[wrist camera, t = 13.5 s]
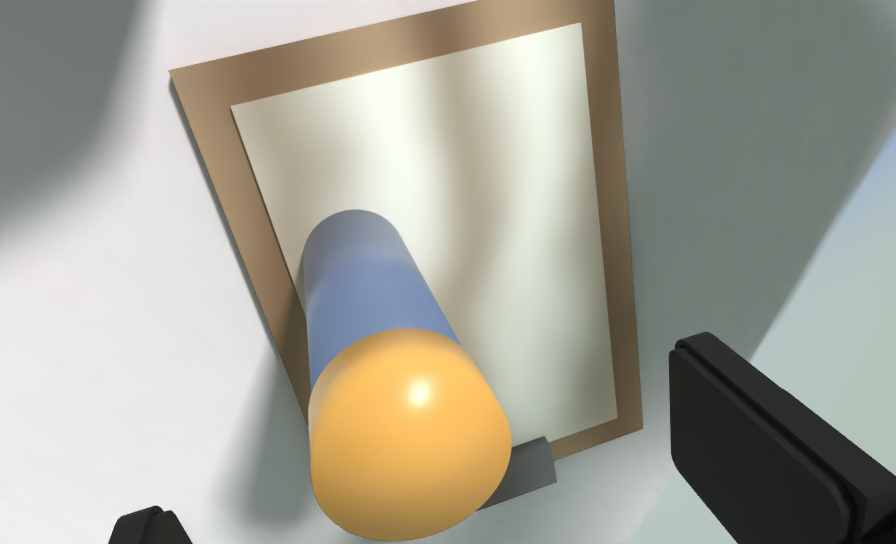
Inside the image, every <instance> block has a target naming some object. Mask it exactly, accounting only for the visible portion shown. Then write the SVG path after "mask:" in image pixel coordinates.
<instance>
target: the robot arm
mask: <svg viewBox="0 0 896 544" xmlns="http://www.w3.org/2000/svg"><path fill="white" fill-rule="evenodd" d="M669 387H670V429H671V455H672V459H673V462H674V464H675V466H676V468H677V470H678V471H679V473H680V474H681V475H682V476H683V477H684V479H685V480H686V481H687V482H688V484H689V485H690V486H691V487H692V488H693V490H694V491H695V492H696V493H697V495H698V496H699V497H700V498H701V499H702V501H703V502H704V503H705V504H706V506H707V507H708V508H709V509H710V510H711V512H712V513H713V514H714V515H715V516H716V518H717V519H718V520H719V521H720V523H721V524H722V525H723V526H724V527H725V529H726V530H727V531H728V532H729V534H730V535H731V536H732V537H733V538H734V540H735V541H736V542H737V543H738V544H896V476H895V475H893V474H892V473H891V472H889V471H888V470H887V469H886V468H885V467H883V466H882V465H881V464H880V463H878V462H877V461H876V460H874V459H873V458H872V457H871V456H869V455H868V454H867V453H865V452H864V451H863V450H861V449H860V448H859V447H858V446H856V445H855V444H854V443H852V442H851V441H850V440H848V439H847V438H846V437H845V436H844V435H842V434H841V433H839V432H838V431H837V430H836V429H834V428H833V427H832V426H831V425H829V424H828V423H827V422H826V421H824V420H823V419H822V418H821V417H819V416H818V415H817V414H815V413H814V412H813V411H812V410H810V409H809V408H807V407H806V406H805V405H804V404H803V403H801V402H800V401H799V400H797V399H796V398H795V397H794V396H792V395H791V394H790V393H788V392H787V391H785V390H784V389H782V388H780V387H779V386H778V385H777V384H775V383H774V382H773V381H771V380H770V379H769V378H768V377H766V376H765V375H764V374H762V373H761V372H760V371H759V370H757V369H756V368H755V367H754V366H752V365H751V364H750V363H749V362H747V361H746V360H745V359H743V358H742V357H741V356H740V355H738V354H737V353H736V352H734V351H733V350H732V349H731V348H729V347H728V346H727V345H726V344H724V343H723V342H722V341H720V340H719V339H718V338H717V337H715V336H714V335H713V334H711V333H709V332H703V333H700V334H697V335H693V336H690V337H687V338H684V339H681V340H678V341H677V342H676V344H675V350H672V351H670V353H669ZM108 544H193V543H192V542H191V540H190V538H189V537H188V535H187V533H186V532H185V530H184V528H183V527H182V525H181V523H180V522H179V520H178V518H177V516H176V515H175V514H174V512H173V511H171V510H169V511H165V512H164V511H163V510H162V509H161V507H159V506H152V507H149V508H146V509H143V510H140V511H136V512H133V513H130V514H127V515H124V516H121V517H120V518H119V519H118V520H117V522H116V524H115V526H114V529H113V532H112V535H111V537H110V540H109V543H108Z"/></svg>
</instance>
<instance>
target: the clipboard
mask: <svg viewBox="0 0 896 544" xmlns="http://www.w3.org/2000/svg"><path fill="white" fill-rule="evenodd" d="M169 73H170V75H171V78H172V80H173V83H174V86H175V88H176V91H177V93H178V96H179V98H180V101H181V103H182V106H183V108H184V111H185V114H186V116H187V119H188V121H189V124H190V126H191V129H192V131H193V134H194V136H195V139H196V142H197V144H198V147H199V149H200V152H201V154H202V157H203V159H204V162H205V164H206V167H207V170H208V172H209V175H210V177H211V180H212V182H213V185H214V187H215V190H216V193H217V195H218V198H219V200H220V203H221V205H222V208H223V210H224V213H225V215H226V218H227V221H228V223H229V226H230V228H231V231H232V233H233V236H234V238H235V241H236V243H237V246H238V249H239V251H240V254H241V256H242V259H243V261H244V264H245V266H246V269H247V271H248V274H249V277H250V279H251V282H252V284H253V287H254V289H255V292H256V294H257V297H258V299H259V302H260V305H261V307H262V310H263V312H264V315H265V317H266V320H267V322H268V325H269V327H270V330H271V333H272V335H273V338H274V340H275V343H276V345H277V348H278V350H279V353H280V355H281V358H282V361H283V363H284V366H285V368H286V371H287V373H288V376H289V378H290V381H291V383H292V386H293V389H294V391H295V394H296V396H297V399H298V401H299V404H300V406H301V409H302V411H303V414H304V417H305V419H306V422H307V424H308V427H309V423H308V408H309V401H310V396H311V382H310V366H309V351H308V335H307V319H306V304H305V288H304V273H303V251H304V246H305V243H306V241H307V239H308V236H309V235H310V233H311V232H312V230H313V229H314V228H315V227H316V226H317V225H318V224H319V223H320V222H321V221H322V220H324V219H325V218H327V217H328V216H331V215H333V214H335V213H338V212H341V211H345V210H353V209H357V210H366V211H370V212H373V213H376V214H378V215H380V216H382V217H384V218H385V219H387V220H388V221H389V222H390V223H391V224H392V225H393V226H394V227H395V228H396V230H397V231H398V232H399V234H400V236H401V238H402V240H403V241H404V243H405V245H406V247H407V249H408V250H409V252H410V254H411V256H412V258H413V259H414V261H415V263H416V265H417V267H418V268H419V270H420V272H421V274H422V276H423V277H424V279H425V281H426V283H427V285H428V286H429V288H430V290H431V292H432V294H433V295H434V297H435V299H436V301H437V303H438V304H439V306H440V308H441V310H442V312H443V314H444V315H445V317H446V319H447V321H448V323H449V324H450V326H451V328H452V330H453V332H454V333H455V335H456V337H457V339H458V341H459V342H460V344H461V346H462V347H463V348H464V349H465V350H466V351H467V352H468V353H469V354H470V355H471V357H472V358H473V360H474V361H475V363H476V364H477V366H478V368H479V370H480V371H481V373H482V375H483V377H484V378H485V380H486V382H487V384H488V385H489V387H490V389H491V391H492V393H493V394H494V396H495V398H496V400H497V401H498V403H499V405H500V407H501V408H502V410H503V412H504V414H505V416H506V418H507V420H508V423H509V427H510V430H511V439H512V445H511V455H510V460H509V463H508V466H507V469H506V472H505V474H504V476H503V478H502V480H501V482H500V484H499V485H498V487H497V488H496V490H495V491H494V492H493V494H492V495H491V496H490V497H489V499H488V500H487V501H486V502H485V503H484V504H483V505H482V506H481V507H480V508H479V509H477V510H476V511H479V510H481V509H484V508H487V507H490V506H492V505H495V504H498V503H501V502H503V501H506V500H509V499H512V498H514V497H517V496H520V495H523V494H525V493H528V492H531V491H534V490H536V489H539V488H542V487H544V486H547V485H550V484H553V483H555V482H557V481H556V475H555V468H554V462H553V461H554V460H557V459H560V458H563V457H565V456H568V455H571V454H574V453H577V452H579V451H582V450H585V449H588V448H591V447H593V446H596V445H599V444H602V443H605V442H607V441H610V440H613V439H616V438H619V437H621V436H624V435H627V434H630V433H633V432H635V431H638V430H641V429H643V419H642V405H641V390H640V375H639V361H638V346H637V332H636V317H635V302H634V288H633V273H632V259H631V244H630V229H629V215H628V200H627V186H626V171H625V156H624V142H623V127H622V113H621V98H620V83H619V69H618V54H617V40H616V25H615V10H614V0H478V1H473V2H469V3H464V4H460V5H456V6H451V7H447V8H442V9H438V10H433V11H429V12H425V13H420V14H416V15H411V16H407V17H403V18H398V19H394V20H389V21H385V22H380V23H376V24H372V25H367V26H363V27H358V28H354V29H350V30H345V31H341V32H336V33H332V34H327V35H323V36H319V37H314V38H310V39H305V40H301V41H297V42H292V43H288V44H283V45H279V46H274V47H270V48H266V49H261V50H257V51H252V52H248V53H244V54H239V55H235V56H230V57H226V58H221V59H217V60H213V61H208V62H204V63H199V64H195V65H190V66H186V67H182V68H177V69H173V70H169ZM476 511H475V512H476Z"/></svg>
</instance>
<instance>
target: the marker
mask: <svg viewBox="0 0 896 544" xmlns="http://www.w3.org/2000/svg"><path fill="white" fill-rule="evenodd" d="M303 273H304V288H305V304H306V319H307V335H308V351H309V366H310V382H311V396H310V401H309V408H308V423H309V442H310V461H311V478H312V486H313V490H314V494H315V497H316V499H317V501H318V503H319V505H320V507H321V508H322V510H323V511H324V512H325V514H326V515H327V516H328V517H329V518H330V519H331V520H332V521H333V522H334V523H335V524H337V525H338V526H340V527H341V528H343V529H344V530H346V531H348V532H350V533H352V534H354V535H357V536H360V537H363V538H367V539H372V540H377V541H407V540H414V539H419V538H424V537H427V536H430V535H434V534H437V533H439V532H441V531H444V530H446V529H448V528H450V527H452V526H454V525H456V524H458V523H460V522H461V521H463V520H464V519H466V518H467V517H469V516H470V515H471V514H473V513H474V512H475V511H476V510H477V509H479V508H480V507H481V506H482V505H483V504H484V503H485V502H486V501H487V500H488V499H489V497H490V496H491V495H492V494H493V492H494V491H495V490H496V488H497V487H498V485H499V484H500V482H501V480H502V478H503V476H504V474H505V472H506V469H507V466H508V463H509V460H510V455H511V445H512V439H511V430H510V427H509V423H508V420H507V418H506V416H505V414H504V412H503V410H502V408H501V407H500V405H499V403H498V401H497V400H496V398H495V396H494V394H493V393H492V391H491V389H490V387H489V385H488V384H487V382H486V380H485V378H484V377H483V375H482V373H481V371H480V370H479V368H478V366H477V364H476V363H475V361H474V360H473V358H472V357H471V355H470V354H469V353H468V352H467V351H466V350H465V349H464V348H463V347H462V346H461V344H460V342H459V341H458V339H457V337H456V335H455V333H454V332H453V330H452V328H451V326H450V324H449V323H448V321H447V319H446V317H445V315H444V314H443V312H442V310H441V308H440V306H439V304H438V303H437V301H436V299H435V297H434V295H433V294H432V292H431V290H430V288H429V286H428V285H427V283H426V281H425V279H424V277H423V276H422V274H421V272H420V270H419V268H418V267H417V265H416V263H415V261H414V259H413V258H412V256H411V254H410V252H409V250H408V249H407V247H406V245H405V243H404V241H403V240H402V238H401V236H400V234H399V232H398V231H397V230H396V228H395V227H394V226H393V225H392V224H391V223H390V222H389V221H388V220H387V219H385V218H384V217H382V216H380V215H378V214H376V213H373V212H370V211H366V210H357V209H353V210H345V211H341V212H338V213H335V214H333V215H331V216H328V217H327V218H325V219H324V220H322V221H321V222H320V223H319V224H318V225H317V226H316V227H315V228H314V229H313V230H312V232H311V233H310V235H309V236H308V239H307V241H306V243H305V246H304V251H303Z"/></svg>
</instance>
